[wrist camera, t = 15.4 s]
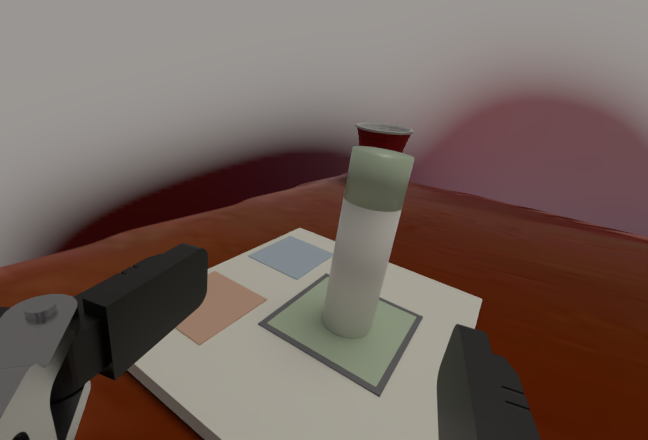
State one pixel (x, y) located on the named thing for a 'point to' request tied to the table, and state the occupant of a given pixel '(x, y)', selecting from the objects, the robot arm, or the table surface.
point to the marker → (365, 238)
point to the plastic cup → (383, 135)
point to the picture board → (305, 352)
